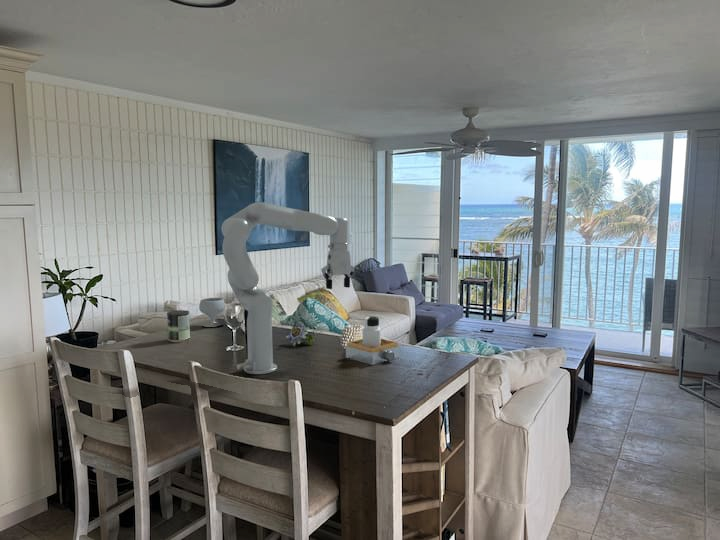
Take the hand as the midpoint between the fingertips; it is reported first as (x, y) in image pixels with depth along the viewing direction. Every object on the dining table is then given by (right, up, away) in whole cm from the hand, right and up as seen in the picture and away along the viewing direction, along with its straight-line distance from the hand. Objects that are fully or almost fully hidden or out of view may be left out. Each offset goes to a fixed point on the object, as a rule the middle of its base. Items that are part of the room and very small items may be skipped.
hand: (338, 288), depth 214 cm
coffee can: (-79, -27, +36) cm, 91 cm away
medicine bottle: (+14, -24, 0) cm, 28 cm away
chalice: (-72, -24, +68) cm, 102 cm away
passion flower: (-19, -28, +26) cm, 42 cm away
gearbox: (+16, -30, 0) cm, 33 cm away
